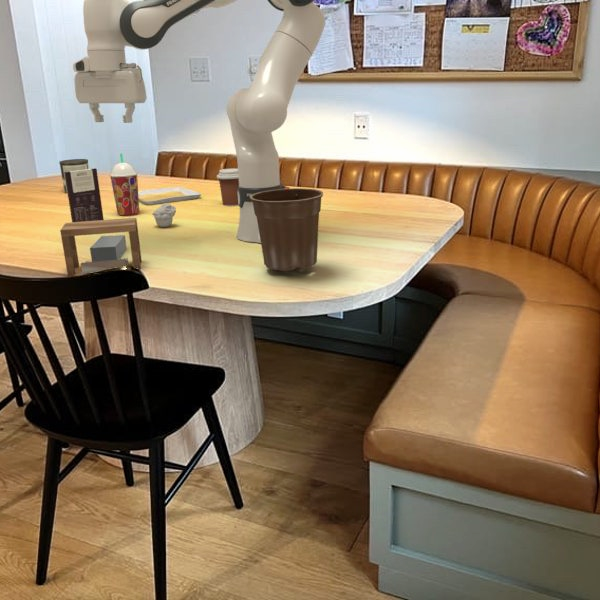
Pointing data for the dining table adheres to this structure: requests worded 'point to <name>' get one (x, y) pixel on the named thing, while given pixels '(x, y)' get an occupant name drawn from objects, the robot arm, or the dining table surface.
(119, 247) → the slab
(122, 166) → the smoothie
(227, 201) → the coffee cup
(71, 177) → the chocolate bar
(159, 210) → the grey lumpy rounded piece
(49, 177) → the dining table surface
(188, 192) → the salad plate
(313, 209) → the plant pot
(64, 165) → the coffee can
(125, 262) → the bench
